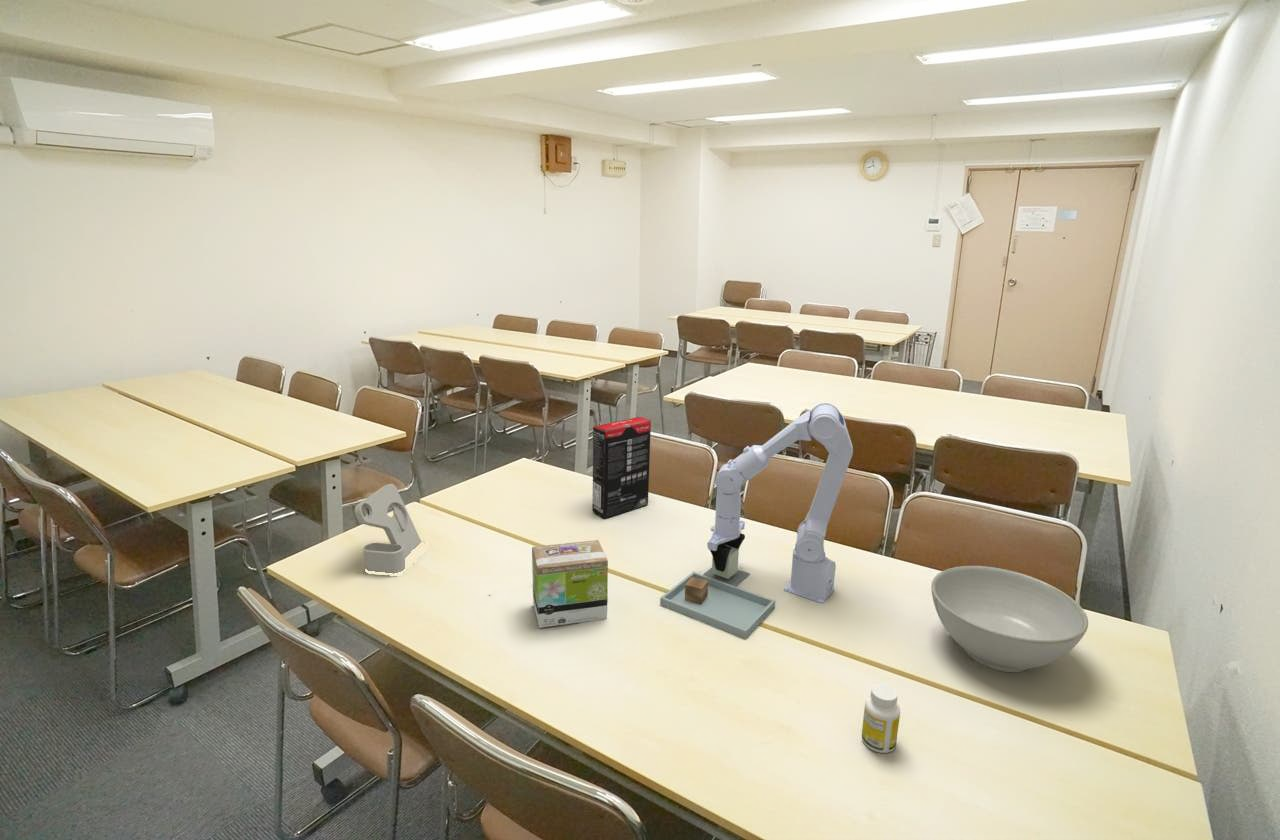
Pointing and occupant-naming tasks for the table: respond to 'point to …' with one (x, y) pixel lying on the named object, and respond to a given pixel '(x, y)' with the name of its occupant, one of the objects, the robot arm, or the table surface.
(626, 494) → the graphics card box
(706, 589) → the walnut block
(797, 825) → the table surface
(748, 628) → the tray
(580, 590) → the tea box
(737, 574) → the mat
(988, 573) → the decorative bowl
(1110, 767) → the table surface
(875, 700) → the supplement bottle
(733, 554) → the pale green box
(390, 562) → the phone holder
